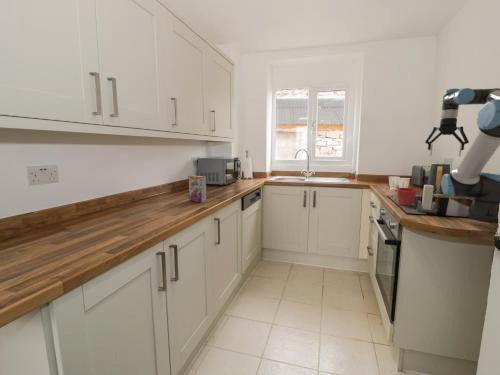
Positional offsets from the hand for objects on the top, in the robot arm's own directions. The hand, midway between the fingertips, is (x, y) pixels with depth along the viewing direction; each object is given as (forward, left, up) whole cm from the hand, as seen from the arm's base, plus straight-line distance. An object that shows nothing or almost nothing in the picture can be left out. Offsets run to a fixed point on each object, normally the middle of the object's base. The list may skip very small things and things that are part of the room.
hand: (444, 156), depth 155 cm
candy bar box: (+55, +136, -31) cm, 150 cm away
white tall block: (-4, +14, -29) cm, 33 cm away
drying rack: (-4, +14, -31) cm, 34 cm away
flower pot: (+13, +11, -31) cm, 35 cm away
